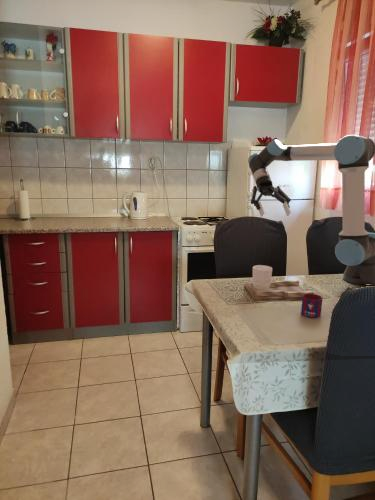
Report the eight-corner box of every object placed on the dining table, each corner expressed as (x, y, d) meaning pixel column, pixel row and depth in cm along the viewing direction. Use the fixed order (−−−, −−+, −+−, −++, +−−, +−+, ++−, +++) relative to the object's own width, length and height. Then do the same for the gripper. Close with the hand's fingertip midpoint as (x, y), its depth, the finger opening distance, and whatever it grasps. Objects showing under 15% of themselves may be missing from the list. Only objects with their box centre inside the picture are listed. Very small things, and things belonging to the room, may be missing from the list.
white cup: (269, 288, 155) (271, 265, 152) (271, 294, 147) (273, 270, 145) (250, 287, 155) (252, 264, 153) (252, 293, 148) (253, 269, 146)
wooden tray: (297, 285, 161) (297, 279, 161) (313, 299, 145) (314, 293, 144) (244, 286, 159) (244, 280, 158) (255, 300, 143) (255, 294, 142)
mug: (299, 316, 128) (301, 298, 127) (304, 306, 137) (305, 289, 135) (319, 320, 125) (321, 301, 124) (322, 310, 134) (324, 292, 133)
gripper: (282, 185, 186) (295, 218, 175) (237, 185, 179) (248, 219, 168) (288, 175, 180) (303, 208, 169) (242, 174, 173) (254, 209, 162)
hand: (275, 214), depth 169 cm, fingers open, 13 cm apart
